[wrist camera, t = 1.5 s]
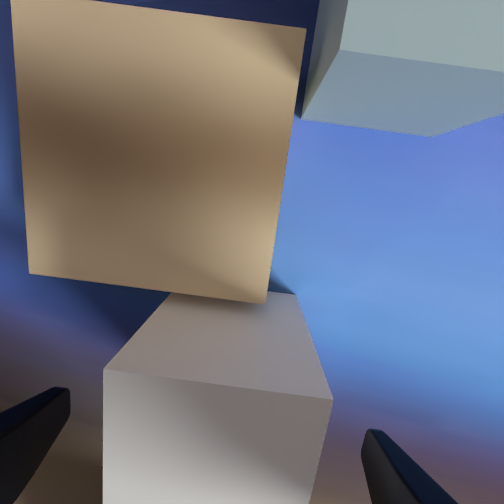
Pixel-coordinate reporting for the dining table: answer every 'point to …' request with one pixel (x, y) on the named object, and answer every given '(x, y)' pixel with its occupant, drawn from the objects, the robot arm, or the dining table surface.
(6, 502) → the robot arm
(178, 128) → the beech slab
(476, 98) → the teal grey cube
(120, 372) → the white block
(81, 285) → the dining table surface
